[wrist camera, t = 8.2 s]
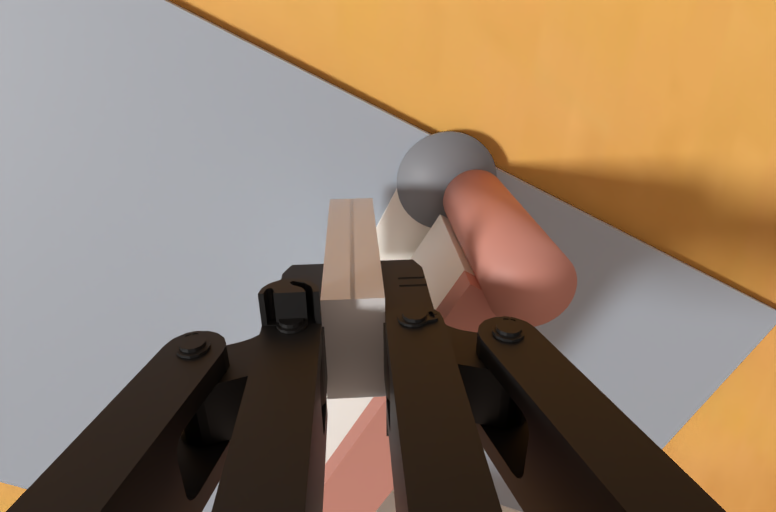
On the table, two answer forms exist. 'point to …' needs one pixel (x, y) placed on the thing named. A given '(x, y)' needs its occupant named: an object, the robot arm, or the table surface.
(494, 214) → the fence panel
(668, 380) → the card
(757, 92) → the table surface
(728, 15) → the table surface
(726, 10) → the table surface
